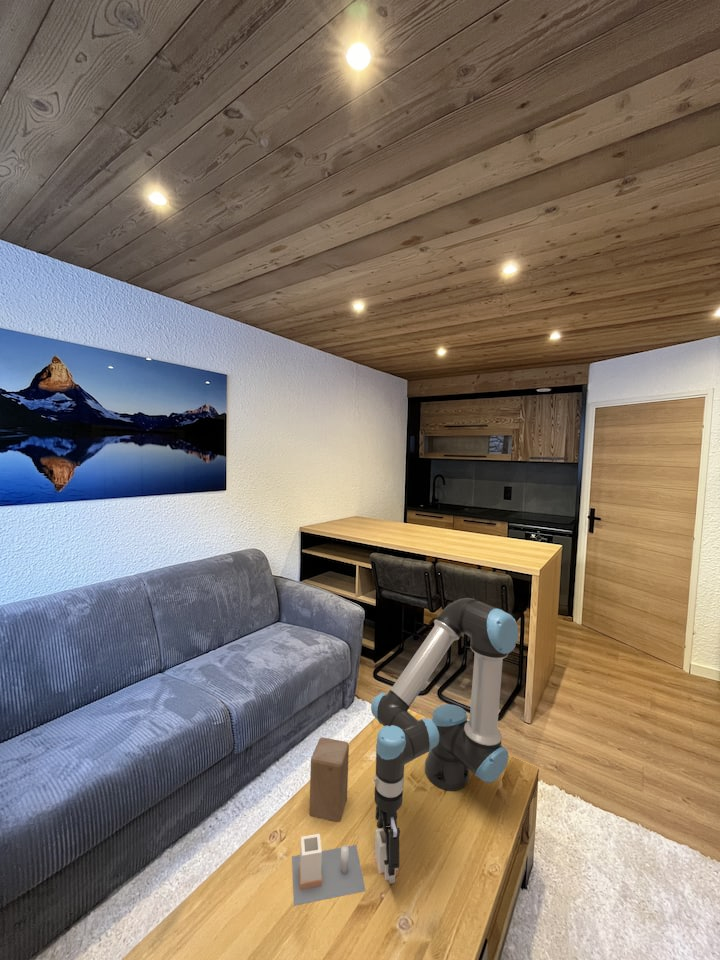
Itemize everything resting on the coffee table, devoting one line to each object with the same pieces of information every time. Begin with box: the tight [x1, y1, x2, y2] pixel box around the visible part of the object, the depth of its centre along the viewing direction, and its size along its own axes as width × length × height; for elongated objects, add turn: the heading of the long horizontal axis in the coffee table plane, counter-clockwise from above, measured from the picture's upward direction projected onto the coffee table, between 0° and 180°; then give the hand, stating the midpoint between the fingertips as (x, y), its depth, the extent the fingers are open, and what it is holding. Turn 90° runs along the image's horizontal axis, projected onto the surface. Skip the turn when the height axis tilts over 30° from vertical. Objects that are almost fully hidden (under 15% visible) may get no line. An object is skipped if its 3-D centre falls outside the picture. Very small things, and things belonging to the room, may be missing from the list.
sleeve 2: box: [373, 828, 399, 877], centre depth 108 cm, size 6×6×9 cm
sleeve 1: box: [299, 833, 323, 890], centre depth 104 cm, size 6×6×9 cm
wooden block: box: [309, 737, 350, 823], centre depth 125 cm, size 10×10×20 cm
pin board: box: [291, 844, 366, 906], centre depth 105 cm, size 18×12×8 cm, turn 102°
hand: (385, 866), depth 108 cm, fingers open, 7 cm apart
